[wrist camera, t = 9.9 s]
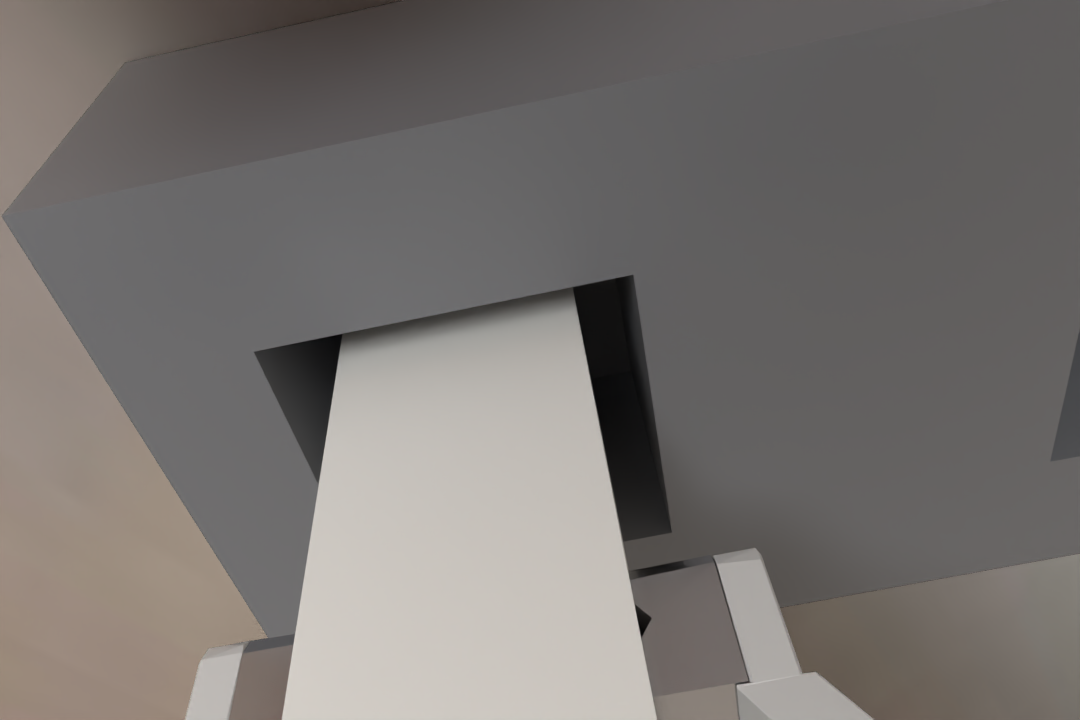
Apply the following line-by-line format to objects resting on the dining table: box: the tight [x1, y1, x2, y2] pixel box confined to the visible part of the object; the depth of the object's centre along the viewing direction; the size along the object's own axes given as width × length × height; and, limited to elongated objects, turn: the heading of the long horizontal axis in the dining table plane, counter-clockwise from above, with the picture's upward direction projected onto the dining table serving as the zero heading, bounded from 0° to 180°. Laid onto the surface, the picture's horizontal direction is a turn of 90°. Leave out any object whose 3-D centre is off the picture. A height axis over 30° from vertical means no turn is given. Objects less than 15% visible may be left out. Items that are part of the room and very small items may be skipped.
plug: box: [282, 287, 657, 720], centre depth 12 cm, size 4×3×9 cm
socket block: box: [2, 0, 1080, 638], centre depth 15 cm, size 10×20×5 cm, turn 101°
